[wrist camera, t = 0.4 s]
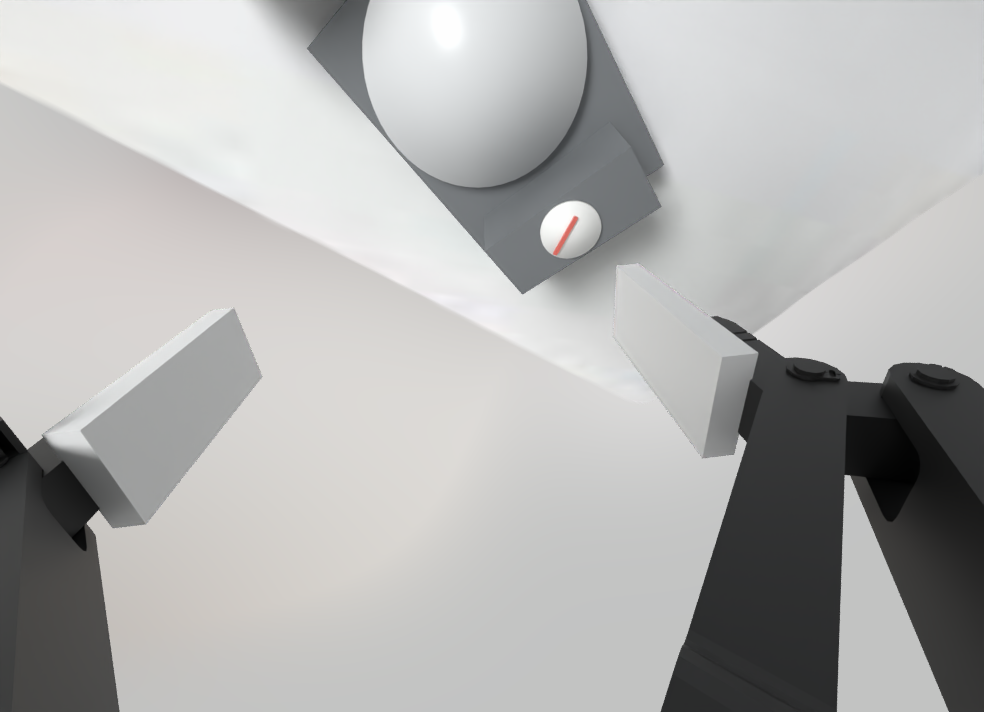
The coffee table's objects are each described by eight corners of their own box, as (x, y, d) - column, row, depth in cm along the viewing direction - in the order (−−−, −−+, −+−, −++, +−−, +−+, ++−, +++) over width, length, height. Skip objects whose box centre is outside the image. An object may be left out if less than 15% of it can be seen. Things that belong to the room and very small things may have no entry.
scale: (496, -174, 24) (503, -228, 17) (654, 154, 36) (694, 197, 29) (317, 43, 30) (271, 65, 23) (502, 259, 42) (506, 314, 35)
